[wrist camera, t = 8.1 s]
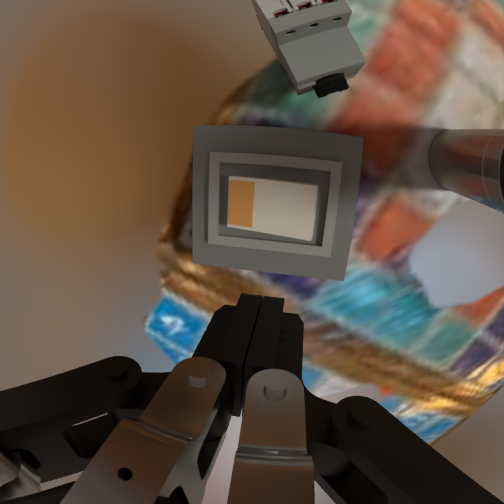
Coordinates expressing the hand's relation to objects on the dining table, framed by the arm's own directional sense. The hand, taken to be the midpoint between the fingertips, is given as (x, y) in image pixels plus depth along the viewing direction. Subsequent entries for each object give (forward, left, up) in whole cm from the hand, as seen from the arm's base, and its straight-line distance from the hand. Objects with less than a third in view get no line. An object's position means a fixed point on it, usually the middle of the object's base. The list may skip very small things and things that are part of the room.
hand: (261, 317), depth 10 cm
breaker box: (+2, +1, -31) cm, 31 cm away
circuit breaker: (-1, -19, -31) cm, 37 cm away
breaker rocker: (+2, +1, -23) cm, 23 cm away
